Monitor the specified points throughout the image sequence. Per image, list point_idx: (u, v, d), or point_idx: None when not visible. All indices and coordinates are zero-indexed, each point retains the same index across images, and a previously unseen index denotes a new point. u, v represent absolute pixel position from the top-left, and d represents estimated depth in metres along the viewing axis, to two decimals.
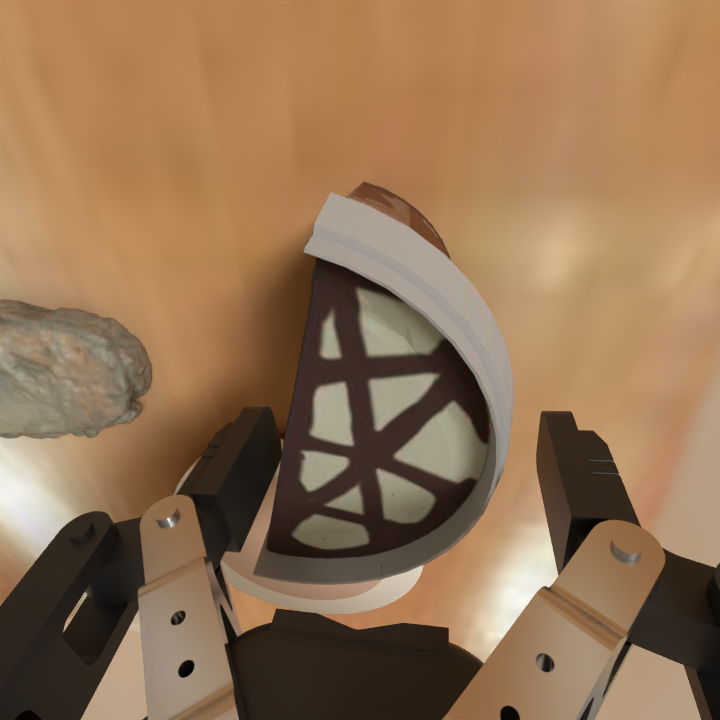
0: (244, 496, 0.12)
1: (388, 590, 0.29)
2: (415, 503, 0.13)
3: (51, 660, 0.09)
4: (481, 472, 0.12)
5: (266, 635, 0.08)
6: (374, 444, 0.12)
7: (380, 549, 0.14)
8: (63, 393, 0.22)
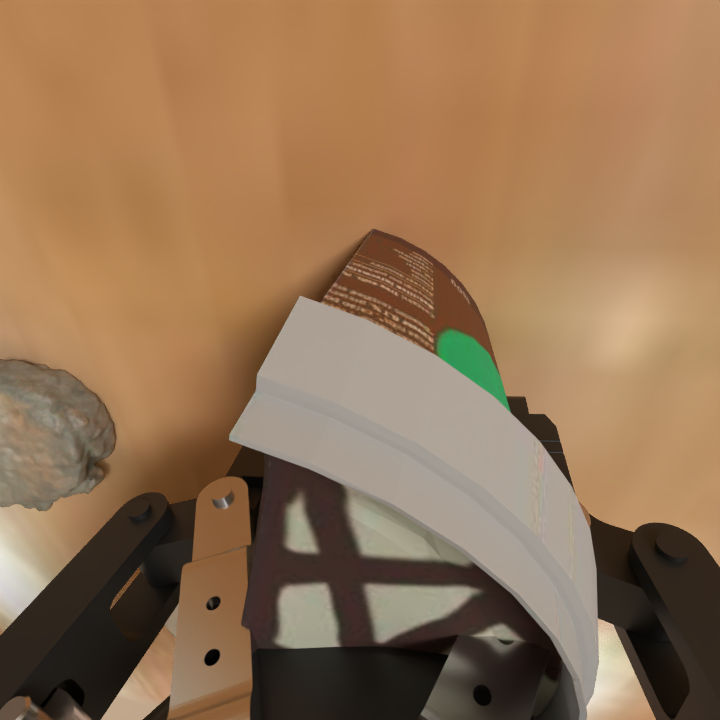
0: None
1: None
2: None
3: (96, 634, 0.09)
4: (542, 711, 0.07)
5: None
6: None
7: None
8: (4, 463, 0.18)
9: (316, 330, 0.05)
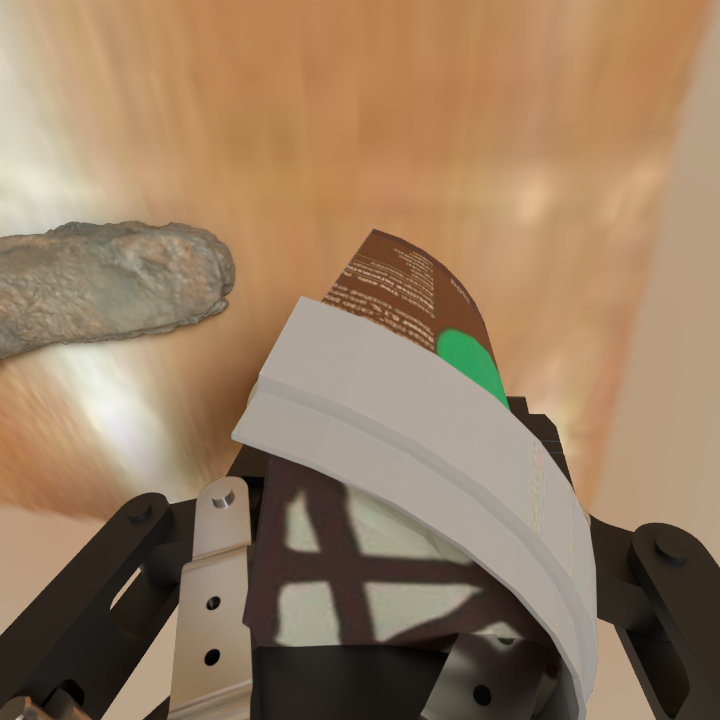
0: None
1: None
2: None
3: (96, 634, 0.09)
4: (542, 709, 0.07)
5: None
6: None
7: None
8: (175, 285, 0.31)
9: (317, 330, 0.05)
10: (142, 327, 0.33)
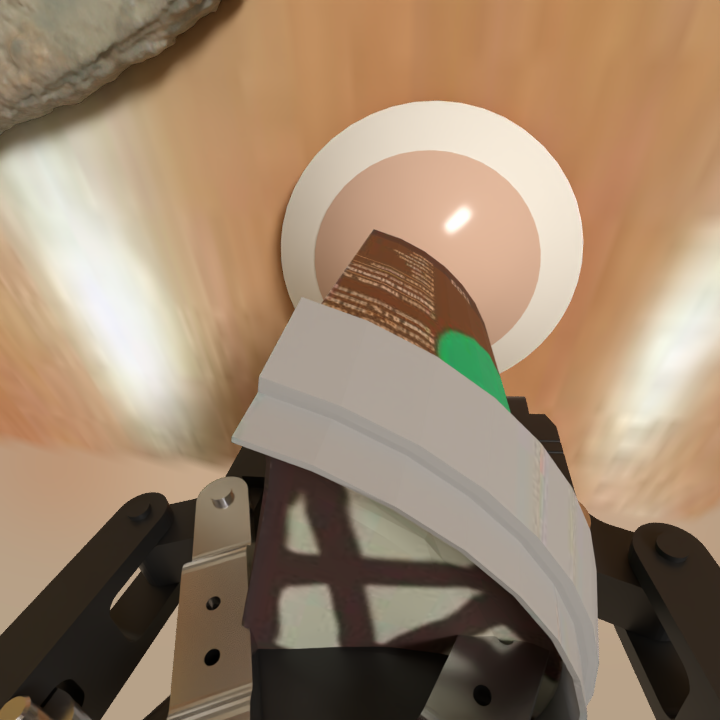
0: None
1: (523, 337, 0.26)
2: None
3: (96, 634, 0.09)
4: (542, 711, 0.07)
5: None
6: None
7: None
8: None
9: (318, 331, 0.05)
10: (114, 38, 0.20)
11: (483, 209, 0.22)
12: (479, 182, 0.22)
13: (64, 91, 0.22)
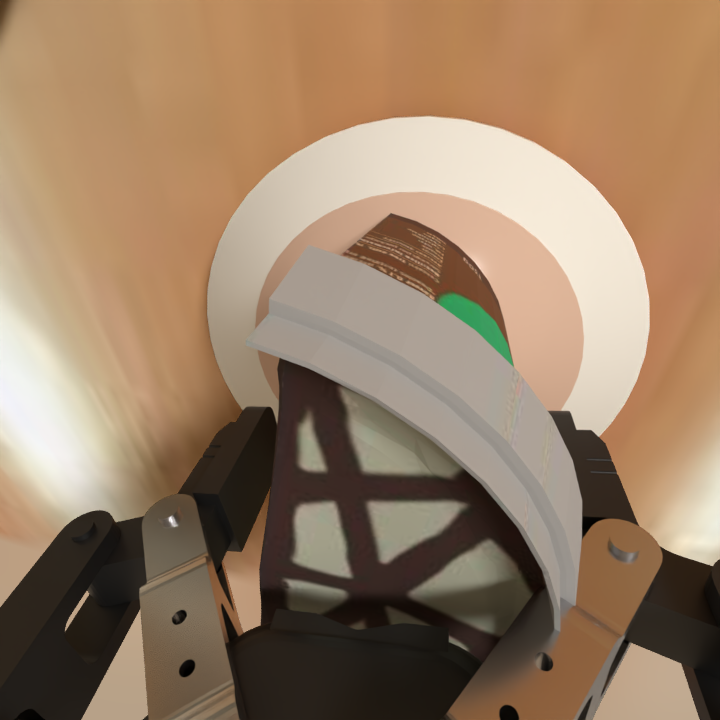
0: (246, 495, 0.12)
1: None
2: None
3: (53, 659, 0.09)
4: None
5: (266, 635, 0.08)
6: (380, 578, 0.09)
7: None
8: None
9: (320, 269, 0.06)
10: None
11: (499, 278, 0.15)
12: (493, 240, 0.14)
13: None
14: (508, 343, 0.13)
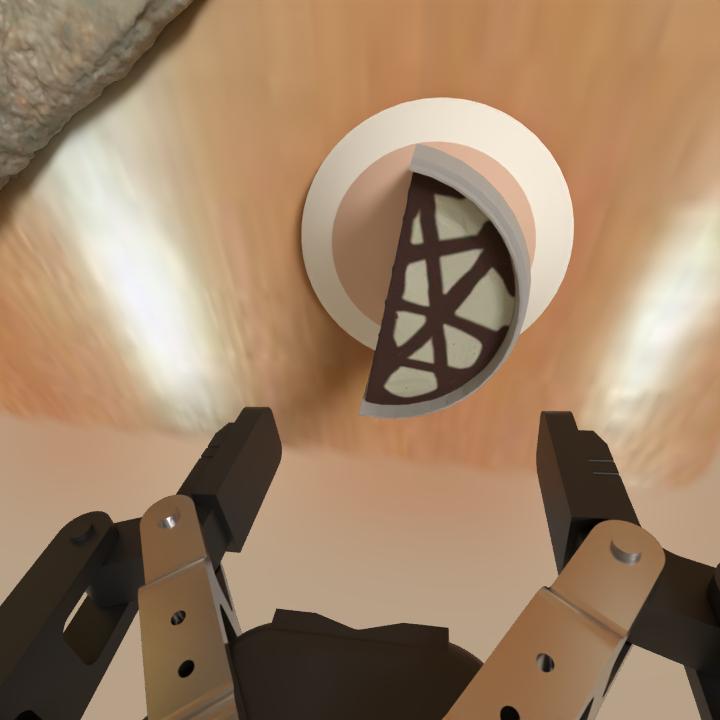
0: (244, 496, 0.12)
1: None
2: (469, 351, 0.20)
3: (51, 660, 0.09)
4: (511, 319, 0.18)
5: (266, 635, 0.08)
6: (442, 304, 0.19)
7: (445, 392, 0.21)
8: None
9: (425, 150, 0.16)
10: None
11: None
12: (480, 170, 0.24)
13: (111, 65, 0.24)
14: None
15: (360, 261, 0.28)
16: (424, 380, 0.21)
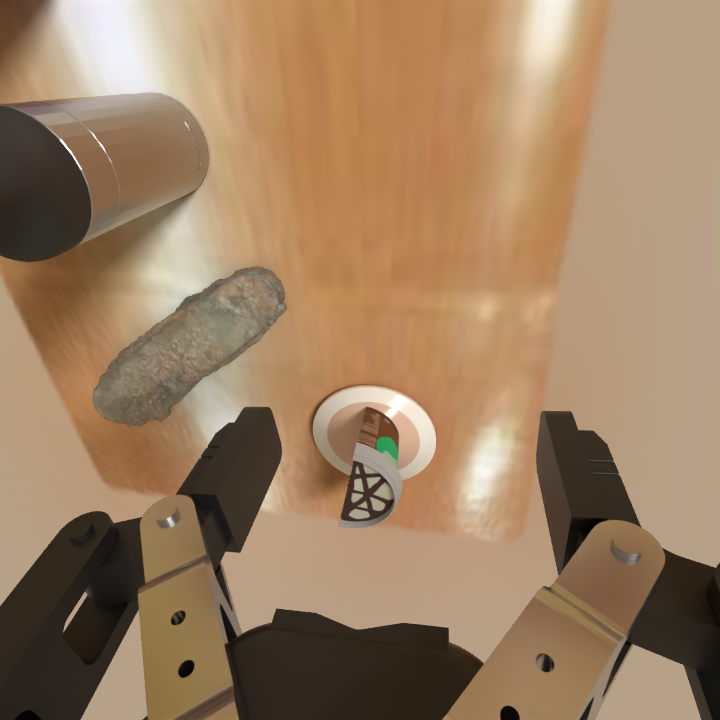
0: (244, 496, 0.12)
1: (417, 465, 0.59)
2: (380, 505, 0.51)
3: (51, 660, 0.09)
4: (394, 497, 0.49)
5: (266, 635, 0.08)
6: (368, 491, 0.50)
7: (373, 518, 0.52)
8: (251, 305, 0.49)
9: (359, 447, 0.47)
10: (244, 342, 0.52)
11: (394, 421, 0.56)
12: (392, 413, 0.55)
13: (227, 360, 0.55)
14: (396, 439, 0.54)
15: (340, 440, 0.59)
16: (364, 513, 0.52)
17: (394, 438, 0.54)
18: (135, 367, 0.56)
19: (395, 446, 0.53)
